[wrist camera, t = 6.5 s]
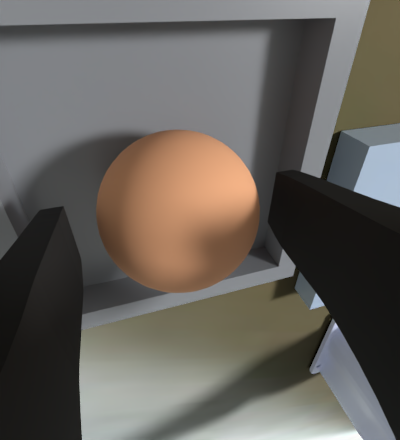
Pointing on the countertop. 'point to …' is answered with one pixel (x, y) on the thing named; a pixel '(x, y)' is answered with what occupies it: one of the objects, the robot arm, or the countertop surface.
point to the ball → (178, 211)
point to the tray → (163, 111)
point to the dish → (363, 175)
